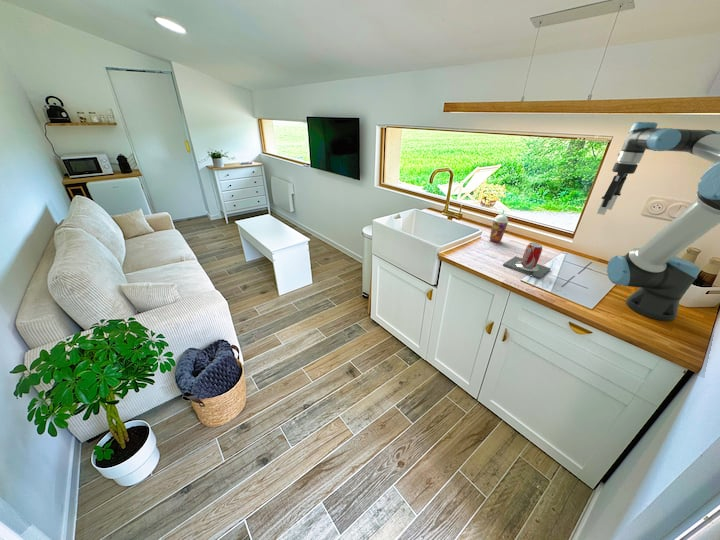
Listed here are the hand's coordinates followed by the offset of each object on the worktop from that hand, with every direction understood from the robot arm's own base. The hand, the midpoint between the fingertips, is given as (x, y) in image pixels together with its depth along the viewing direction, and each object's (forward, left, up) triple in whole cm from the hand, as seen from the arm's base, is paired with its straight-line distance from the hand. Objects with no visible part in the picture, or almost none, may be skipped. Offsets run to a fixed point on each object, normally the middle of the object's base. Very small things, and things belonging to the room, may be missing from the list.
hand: (604, 211), depth 129 cm
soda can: (+18, +17, -31) cm, 40 cm away
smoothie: (+46, -5, -32) cm, 56 cm away
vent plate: (+18, +18, -32) cm, 40 cm away
